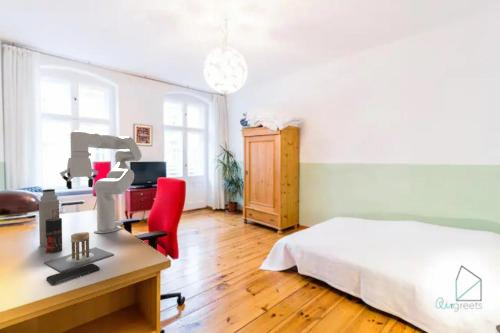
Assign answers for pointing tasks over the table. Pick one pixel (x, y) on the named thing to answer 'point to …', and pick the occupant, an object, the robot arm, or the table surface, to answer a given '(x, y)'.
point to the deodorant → (53, 235)
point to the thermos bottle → (47, 212)
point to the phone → (72, 274)
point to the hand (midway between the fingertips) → (80, 188)
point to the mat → (70, 263)
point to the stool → (76, 239)
